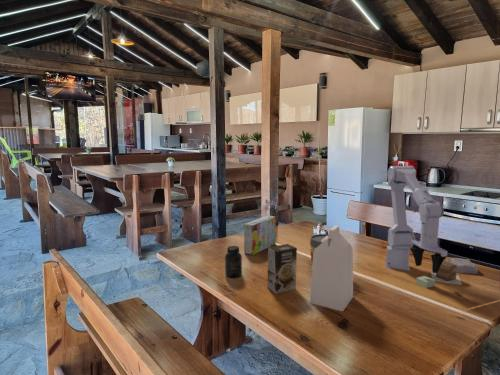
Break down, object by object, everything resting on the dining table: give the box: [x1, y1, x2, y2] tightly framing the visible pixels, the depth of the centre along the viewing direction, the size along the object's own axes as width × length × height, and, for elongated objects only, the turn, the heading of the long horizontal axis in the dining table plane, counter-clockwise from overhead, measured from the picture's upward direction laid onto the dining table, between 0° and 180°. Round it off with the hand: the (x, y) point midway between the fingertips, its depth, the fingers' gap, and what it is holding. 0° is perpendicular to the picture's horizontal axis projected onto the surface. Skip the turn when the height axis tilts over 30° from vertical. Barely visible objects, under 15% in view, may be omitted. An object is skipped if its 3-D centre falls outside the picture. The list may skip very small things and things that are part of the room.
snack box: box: [243, 215, 277, 256], centre depth 176 cm, size 21×6×15 cm, turn 144°
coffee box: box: [267, 243, 298, 294], centre depth 130 cm, size 9×6×16 cm
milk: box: [309, 225, 354, 312], centre depth 121 cm, size 12×12×26 cm
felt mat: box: [430, 271, 463, 286], centre depth 139 cm, size 10×10×1 cm
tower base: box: [436, 271, 458, 281], centre depth 139 cm, size 5×5×3 cm
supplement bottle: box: [224, 245, 243, 279], centre depth 143 cm, size 7×7×12 cm
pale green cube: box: [415, 275, 436, 289], centre depth 133 cm, size 4×4×3 cm
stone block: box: [446, 257, 479, 275], centre depth 150 cm, size 12×5×10 cm
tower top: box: [439, 260, 457, 274], centre depth 139 cm, size 5×5×3 cm
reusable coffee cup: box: [309, 233, 329, 263], centre depth 145 cm, size 13×13×15 cm
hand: (426, 268), depth 132 cm, fingers open, 7 cm apart
